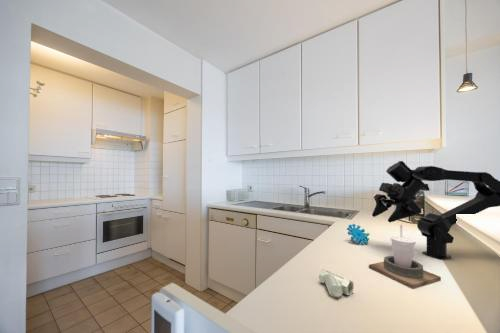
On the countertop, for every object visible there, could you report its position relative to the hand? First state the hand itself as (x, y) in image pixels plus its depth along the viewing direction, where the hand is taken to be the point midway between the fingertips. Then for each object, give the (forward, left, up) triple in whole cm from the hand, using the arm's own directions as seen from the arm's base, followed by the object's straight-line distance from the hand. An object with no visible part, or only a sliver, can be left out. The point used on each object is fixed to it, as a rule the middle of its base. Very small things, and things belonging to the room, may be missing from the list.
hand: (380, 218), depth 80 cm
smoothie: (+9, +13, -13) cm, 20 cm away
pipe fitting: (+36, +13, -14) cm, 41 cm away
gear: (-4, -13, -14) cm, 19 cm away
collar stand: (+9, +13, -14) cm, 21 cm away
